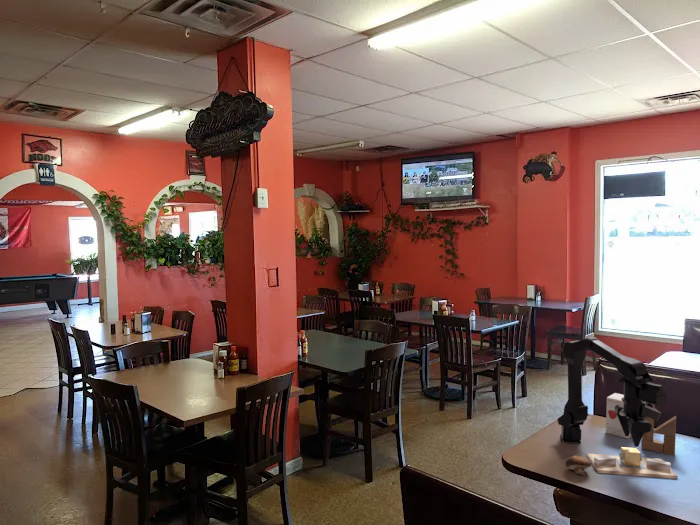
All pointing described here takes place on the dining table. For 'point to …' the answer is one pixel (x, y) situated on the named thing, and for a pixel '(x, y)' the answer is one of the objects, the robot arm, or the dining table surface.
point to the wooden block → (665, 429)
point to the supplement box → (614, 416)
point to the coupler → (630, 456)
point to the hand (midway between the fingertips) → (631, 441)
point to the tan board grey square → (647, 466)
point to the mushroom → (578, 464)
